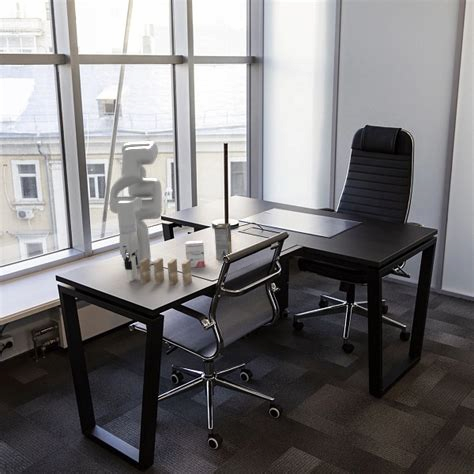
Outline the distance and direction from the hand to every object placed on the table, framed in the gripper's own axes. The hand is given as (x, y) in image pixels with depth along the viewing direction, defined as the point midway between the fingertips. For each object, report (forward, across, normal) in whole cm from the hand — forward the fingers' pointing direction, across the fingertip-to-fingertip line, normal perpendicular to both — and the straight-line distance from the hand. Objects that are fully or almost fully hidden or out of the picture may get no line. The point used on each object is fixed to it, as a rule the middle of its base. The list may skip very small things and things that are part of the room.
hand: (131, 266), depth 265 cm
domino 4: (+6, 0, +26) cm, 27 cm away
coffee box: (+7, -39, +32) cm, 51 cm away
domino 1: (+6, 0, +6) cm, 9 cm away
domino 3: (+6, 0, +20) cm, 21 cm away
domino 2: (+6, 0, +13) cm, 15 cm away
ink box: (+7, -24, +22) cm, 33 cm away
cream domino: (+6, 0, 0) cm, 6 cm away
